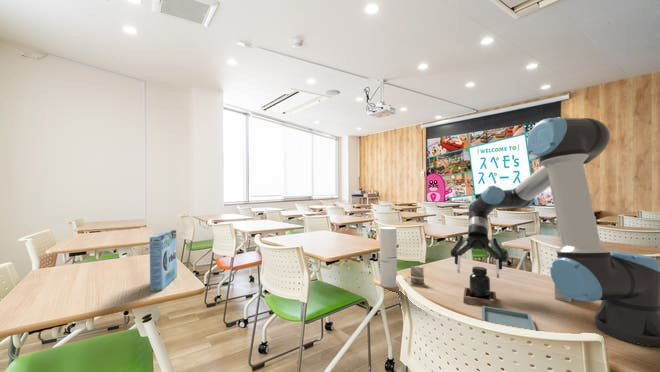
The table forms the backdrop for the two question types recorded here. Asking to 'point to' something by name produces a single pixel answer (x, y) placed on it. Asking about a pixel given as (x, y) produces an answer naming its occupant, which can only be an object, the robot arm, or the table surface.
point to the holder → (480, 301)
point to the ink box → (561, 295)
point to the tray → (507, 317)
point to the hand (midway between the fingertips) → (477, 273)
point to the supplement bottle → (479, 283)
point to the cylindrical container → (388, 257)
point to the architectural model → (417, 275)
